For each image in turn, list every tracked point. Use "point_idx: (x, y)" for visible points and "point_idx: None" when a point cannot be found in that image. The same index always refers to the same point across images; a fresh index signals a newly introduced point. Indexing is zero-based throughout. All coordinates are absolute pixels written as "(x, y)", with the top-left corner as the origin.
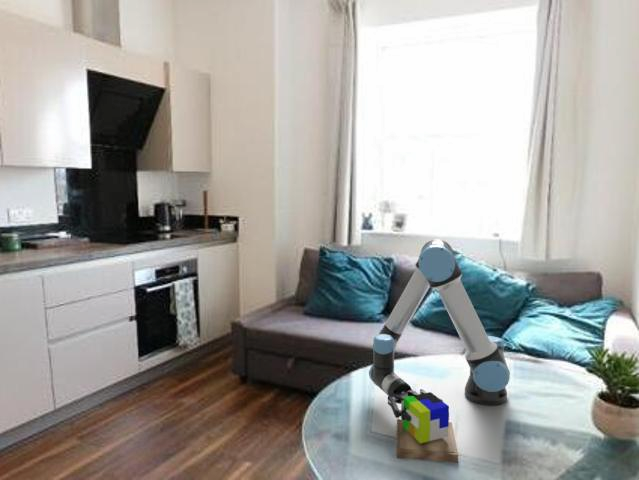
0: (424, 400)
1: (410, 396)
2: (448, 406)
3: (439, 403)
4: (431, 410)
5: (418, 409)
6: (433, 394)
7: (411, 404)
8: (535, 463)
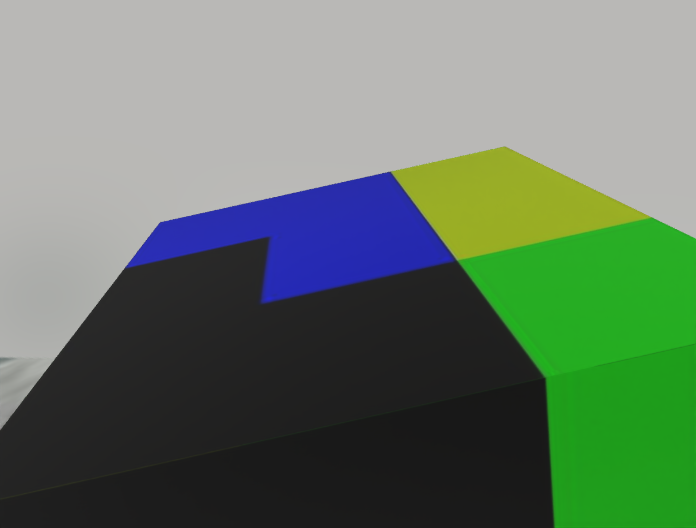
0: (348, 267)
1: (622, 357)
2: (164, 223)
3: (203, 239)
4: (375, 176)
5: (516, 164)
6: (24, 405)
7: (605, 195)
8: (9, 402)
